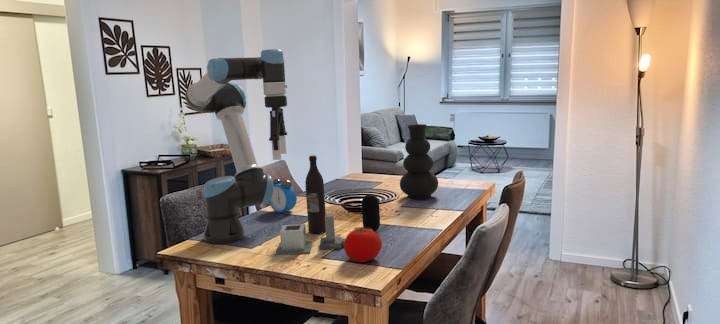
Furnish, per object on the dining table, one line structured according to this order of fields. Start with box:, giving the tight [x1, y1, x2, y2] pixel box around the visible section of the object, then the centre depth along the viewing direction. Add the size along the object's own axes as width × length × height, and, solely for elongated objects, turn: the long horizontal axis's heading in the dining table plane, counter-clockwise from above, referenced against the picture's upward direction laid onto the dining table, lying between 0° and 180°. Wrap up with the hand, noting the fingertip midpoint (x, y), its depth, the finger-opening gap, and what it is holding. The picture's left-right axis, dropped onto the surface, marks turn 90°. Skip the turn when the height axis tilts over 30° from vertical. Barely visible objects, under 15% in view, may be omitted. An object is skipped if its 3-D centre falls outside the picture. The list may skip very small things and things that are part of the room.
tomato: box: [343, 228, 383, 263], centre depth 165 cm, size 11×12×10 cm
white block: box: [279, 223, 307, 251], centre depth 179 cm, size 8×8×7 cm
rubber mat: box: [274, 240, 313, 256], centre depth 180 cm, size 12×12×1 cm
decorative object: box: [361, 193, 381, 233], centre depth 193 cm, size 7×7×15 cm
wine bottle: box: [305, 154, 327, 235], centre depth 196 cm, size 7×7×30 cm
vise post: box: [319, 214, 373, 251], centre depth 180 cm, size 19×8×11 cm, turn 91°
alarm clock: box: [268, 178, 298, 214], centre depth 231 cm, size 13×6×15 cm, turn 53°
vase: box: [399, 123, 439, 200], centre depth 243 cm, size 18×18×35 cm
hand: (280, 156), depth 178 cm, fingers open, 13 cm apart
